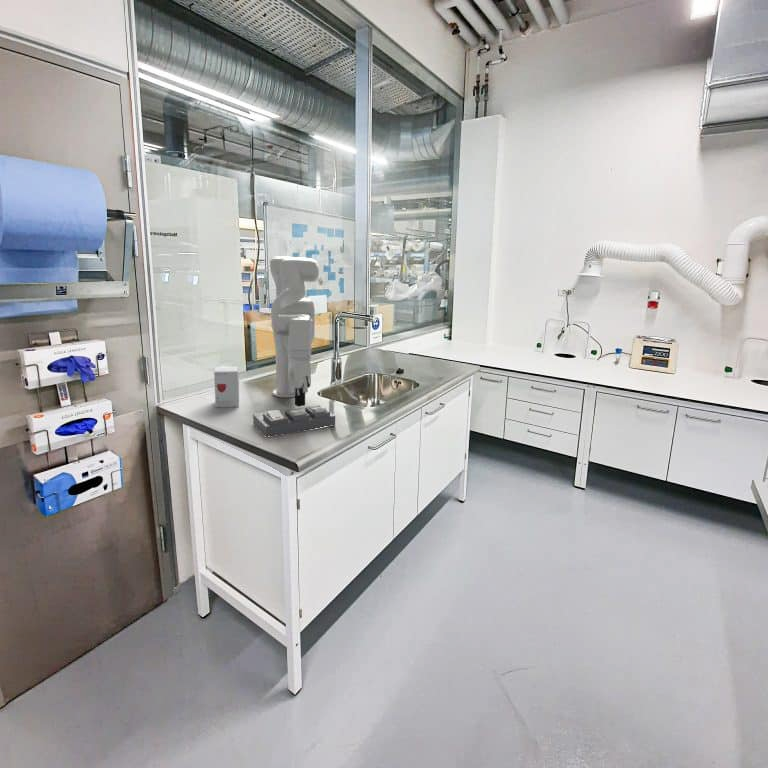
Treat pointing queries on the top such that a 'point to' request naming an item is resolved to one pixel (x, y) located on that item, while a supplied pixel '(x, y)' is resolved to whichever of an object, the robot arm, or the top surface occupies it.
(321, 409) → the rocker
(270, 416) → the rocker
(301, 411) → the middle rocker
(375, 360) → the top surface
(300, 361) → the robot arm
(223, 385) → the supplement box
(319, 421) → the rocker switch panel
